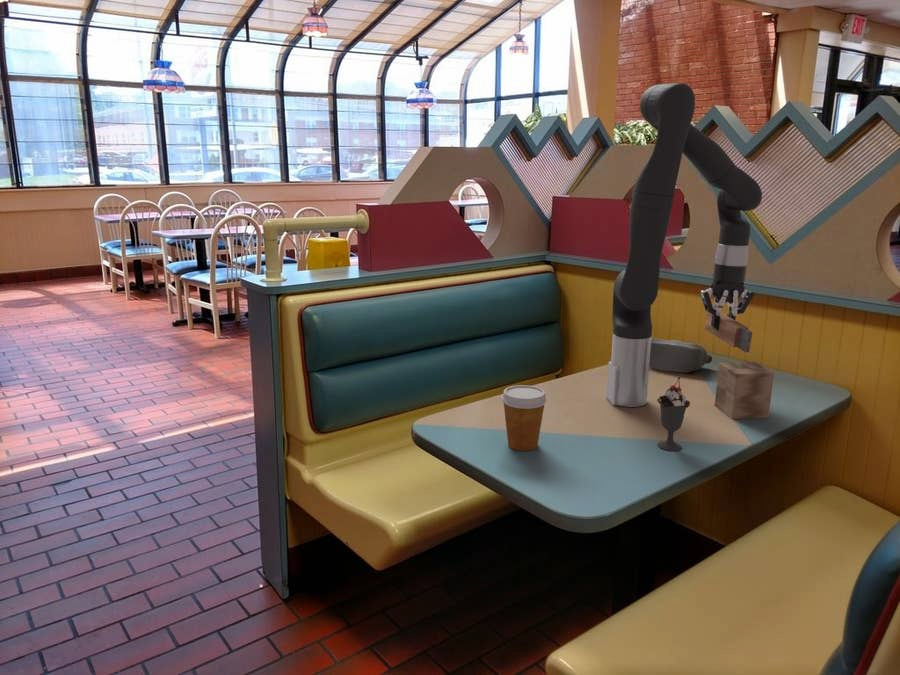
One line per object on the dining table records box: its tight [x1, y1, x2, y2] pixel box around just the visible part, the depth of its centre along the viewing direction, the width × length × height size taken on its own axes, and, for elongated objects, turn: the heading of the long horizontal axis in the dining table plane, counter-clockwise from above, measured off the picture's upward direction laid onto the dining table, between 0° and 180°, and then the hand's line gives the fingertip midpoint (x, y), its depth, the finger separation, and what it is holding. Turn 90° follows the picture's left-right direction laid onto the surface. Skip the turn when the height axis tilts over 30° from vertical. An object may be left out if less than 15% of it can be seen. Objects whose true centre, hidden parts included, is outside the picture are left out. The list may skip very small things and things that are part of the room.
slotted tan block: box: [714, 361, 775, 420], centre depth 169 cm, size 9×9×11 cm
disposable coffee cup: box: [501, 384, 548, 452], centre depth 150 cm, size 10×10×12 cm
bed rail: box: [704, 311, 753, 353], centre depth 178 cm, size 3×20×5 cm, turn 5°
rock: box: [649, 337, 713, 374], centre depth 205 cm, size 18×11×8 cm, turn 58°
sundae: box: [656, 376, 691, 452], centre depth 149 cm, size 7×7×15 cm
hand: (722, 329), depth 182 cm, fingers closed on bed rail, 3 cm apart
